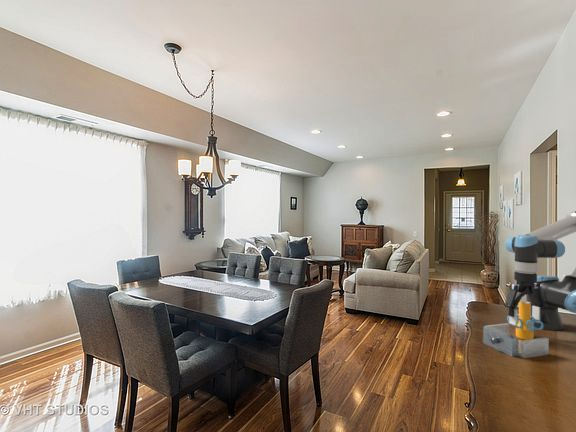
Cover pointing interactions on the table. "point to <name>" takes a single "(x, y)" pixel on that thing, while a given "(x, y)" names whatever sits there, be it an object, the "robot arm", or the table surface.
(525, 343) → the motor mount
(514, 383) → the table surface
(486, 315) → the table surface
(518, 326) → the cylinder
